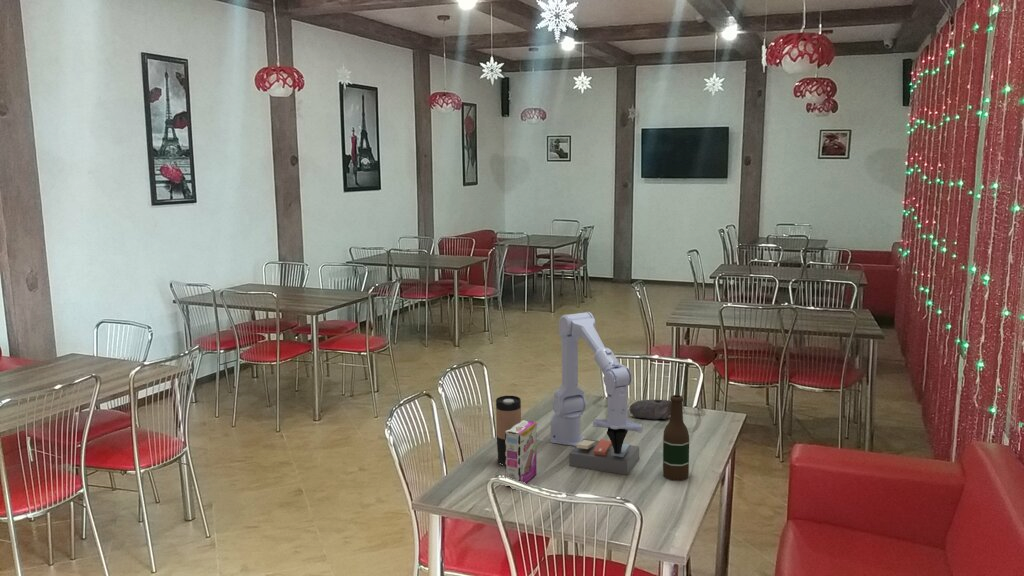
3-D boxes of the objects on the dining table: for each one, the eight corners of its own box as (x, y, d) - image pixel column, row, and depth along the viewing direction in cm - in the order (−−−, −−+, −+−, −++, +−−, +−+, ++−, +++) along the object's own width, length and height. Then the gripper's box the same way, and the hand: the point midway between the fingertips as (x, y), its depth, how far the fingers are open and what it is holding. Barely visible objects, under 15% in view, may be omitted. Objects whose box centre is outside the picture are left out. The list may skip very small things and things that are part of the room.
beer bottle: (683, 483, 215) (685, 402, 211) (657, 477, 219) (659, 397, 215) (693, 473, 221) (694, 394, 217) (667, 468, 225) (668, 390, 221)
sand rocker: (576, 447, 228) (576, 443, 228) (584, 443, 235) (584, 439, 235) (587, 449, 227) (587, 445, 227) (595, 444, 233) (595, 441, 233)
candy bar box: (520, 489, 213) (519, 434, 210) (505, 486, 215) (503, 431, 212) (538, 474, 222) (537, 421, 220) (522, 471, 225) (521, 419, 222)
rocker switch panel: (569, 465, 228) (569, 452, 228) (583, 450, 240) (583, 437, 239) (627, 475, 221) (627, 461, 220) (639, 458, 232) (639, 445, 232)
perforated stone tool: (628, 419, 268) (628, 400, 266) (630, 414, 273) (630, 396, 271) (671, 422, 263) (672, 403, 262) (672, 417, 268) (673, 398, 267)
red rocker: (593, 453, 226) (593, 450, 226) (600, 442, 232) (600, 439, 232) (605, 455, 224) (604, 452, 224) (612, 444, 230) (612, 440, 230)
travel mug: (509, 454, 238) (508, 393, 234) (527, 461, 232) (526, 398, 229) (492, 462, 232) (490, 399, 229) (509, 468, 227) (508, 405, 224)
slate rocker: (611, 455, 224) (611, 452, 223) (618, 445, 230) (618, 442, 229) (623, 457, 222) (623, 453, 222) (629, 447, 228) (629, 444, 228)
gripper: (589, 409, 220) (589, 454, 222) (638, 414, 214) (638, 460, 216) (597, 402, 226) (597, 446, 228) (644, 407, 220) (644, 452, 222)
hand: (617, 452), depth 223 cm, fingers closed, pressing on slate rocker
